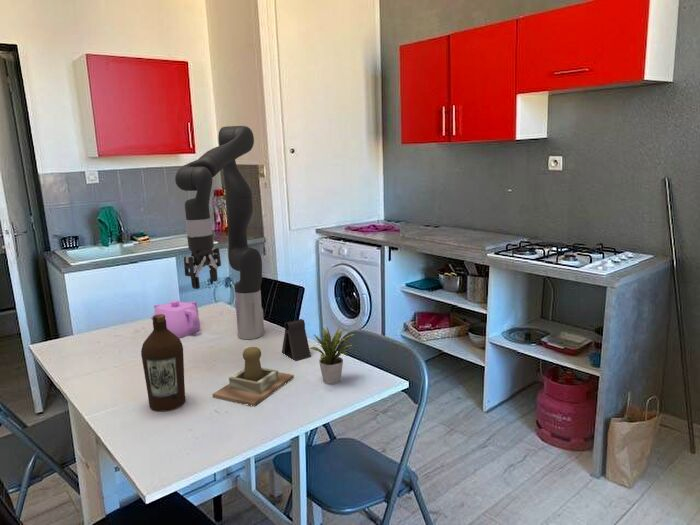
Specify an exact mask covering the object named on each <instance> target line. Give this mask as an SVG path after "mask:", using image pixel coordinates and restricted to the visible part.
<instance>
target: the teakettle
mask: <svg viewBox="0 0 700 525" xmlns="http://www.w3.org/2000/svg"><path fill="white" fill-rule="evenodd" d="M153 308H154V314H153V316H154V315H158V314H164V315H165V319H166V325H167V329H168V330H169V331H171V332H172V333H173V334H175V335H176V336H177V337H178V338H179V339H183V338H185V337H188V336H190V335H193V334H195V333H198V332H199V331H200V328H201V321H200V317H199V315H200V314H199V310H198V304H197V301H189V302H185V301H184V302H183V301H180V300H177V299H176V300H175V299H174V300H171V301H170V302H168V303H164V304H162V305H160V304H156V305H153ZM153 316H151V317H150V319H151V320H152V321H153Z"/></svg>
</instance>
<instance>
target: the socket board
mask: <svg viewBox="0 0 700 525" xmlns="http://www.w3.org/2000/svg"><path fill="white" fill-rule="evenodd" d="M261 368H262V373H263V378H262V379H260V380H259V381H257V382H256V381H251V380H246V379H244V368H243V369H242V370H240V371H239V372H237V373H235V374H233V375H232V376H230V377H229V378H228V384H226V385H225V386H222V387H221V388H220V389H219V390H217V391H215V392H214V393H212V398H213V399H218V400H222V399H223V401H227V400H228V402H231V401H232V403H235V402H237V403H236V404H240V403H241V404H240V405H244V404H248V405H252V406H251V407H253V406H254V405H256V404H257V403H258V404H260V403H261V402H262V400H263V399H264V400H265V399H267V398H268V397H269V395H270V394H271V393H272V394H274V393H275V392H276V391H277V389H278V388H279V389H281V388H282V387H283V386H285V385H286V384H288V383H289V382H290V381H292V380H293V379H294V376H295V375H294V374H292V373H291V374H290V373H287V372H286V373H284V372H280V371H279V370H276V369H272V368H271V369H270V368H267V367H261ZM292 378H293V379H292ZM291 379H292V380H291ZM288 381H289V382H288ZM285 383H286V384H285ZM284 384H285V385H284ZM281 386H282V387H281ZM280 387H281V388H280ZM279 389H278V390H279ZM275 390H276V391H275ZM274 391H275V392H274ZM273 392H274V393H273ZM272 394H271V395H272ZM271 395H270V396H271ZM267 396H268V397H267ZM266 397H267V398H266ZM264 400H263V401H264ZM260 401H261V402H260ZM259 402H260V403H259ZM258 404H257V405H258ZM248 405H247V406H248ZM257 405H256V406H257ZM254 407H255V406H254Z"/></svg>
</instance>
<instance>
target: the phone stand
mask: <svg viewBox="0 0 700 525" xmlns="http://www.w3.org/2000/svg"><path fill="white" fill-rule="evenodd" d="M306 331H307V330H306V323H305V320H304V319H302V318H299V319H298V318H297V319H294V320H290V321H286V322H285V323H284V335H283V340H282V341H283V342H282V346H281V347H282V348H281V349H282V350H281V353H283V354H282V355H284V354H285V355H286V356H285V355H284V356H285V357H287V356H288V357H287V358H289V359H290V358H291V360H292V359H293V360H292V361H294V360H295V361H294V362H297V361H300V360H304V359H307V358H311V357H312V356H311V349H310V345H309V340H308V337H307V332H306Z"/></svg>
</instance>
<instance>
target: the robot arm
mask: <svg viewBox="0 0 700 525" xmlns="http://www.w3.org/2000/svg"><path fill="white" fill-rule="evenodd" d="M254 137H255V136H254V133H253V130H252V129H251V128H250V127H248V126H246V125H230V126H222V127H221V128H220V129H219V131H218V138H217V139H218V140H217V141H218V146H215V147H213V148H210V149H209V150H207V151H206V152H205V153H204V154H202V155H201V156H200V157H199V158H198V159H195V160H193V161H190V162H188V163H186V164H183V165H182V166H181V167H180V168H179V169H178V170H177V172H176V174H175V177H174V178H175V179H174V180H175V181H174V182H175V184H176V186H177V188H178V189H180V190H181V191H184V192H196V194H195V197H194V198H191V199H187V200H186V201H185V202H184V210H185V220H186V221H185V222H186V224H185V229H186V238H187V245H188V250H189V251H190V252H191V253H190V254H191V255H190V256H188V255H187V256H184V257H183V264H184V265H183V267H184V276H185V277H190V281H191V287H192V289H194V290H199V289H200V288H201V286H200V285H201V284H200V277H199V275H200V272H201V271H202V269H203V268H204V267H206V266H207V267H208V269H209V279H210V280H209V281H210V282H212V283H213V282H217V281H218V268H219V267H222V262H221V253H220V248H218V247H214V246H215V243H214V234H213V226H212V219H211V214H210V198H211V193H212V192H211V191H212V188H213V186H212V185H213V178H214V177H215V176H216V175H218V173H220V172H221V171H223V182H224V195H225V196H224V197H225V207H226V209H225V210H226V215H227V216H226V217H227V218H226V219H227V229H228V230H227V232H228V246H227V247H228V254H227V256H228V257H227V258H228V263H229V265H230V267H231V269H233V270H235V271H237V272H239V281H237V282H235V284H234V299H235V312H236V313H235V314H236V326H237V327H236V328H237V338H239V339H241V340H253V339H254V340H255V339H259V338H261V337H262V336H263V335H264V333H265V324H264V321H265V320H264V308H263V307H262V294H261V293H262V291H261V284H262V281H263V259H262V255H261V253H260V251H259V250H258V249H257V248H254V247H250V246H249V244H248V235H247V234H248V227H249V224H250V221H251V218H252V215H253V212H254V211H253V210H254V209H253V208H254V205H253V193H252V190H251V187H250V185H249V184H248V182H247V180H246V179H245V177H244V176H243V175H242V173H241V172H240V170H239V168H238V166H237V162H236V160H238V158H240V157H242V156H244V155H245V154H247V153H249V152H250V151H251V150H252V149H253V147H254V144H255V138H254Z"/></svg>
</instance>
